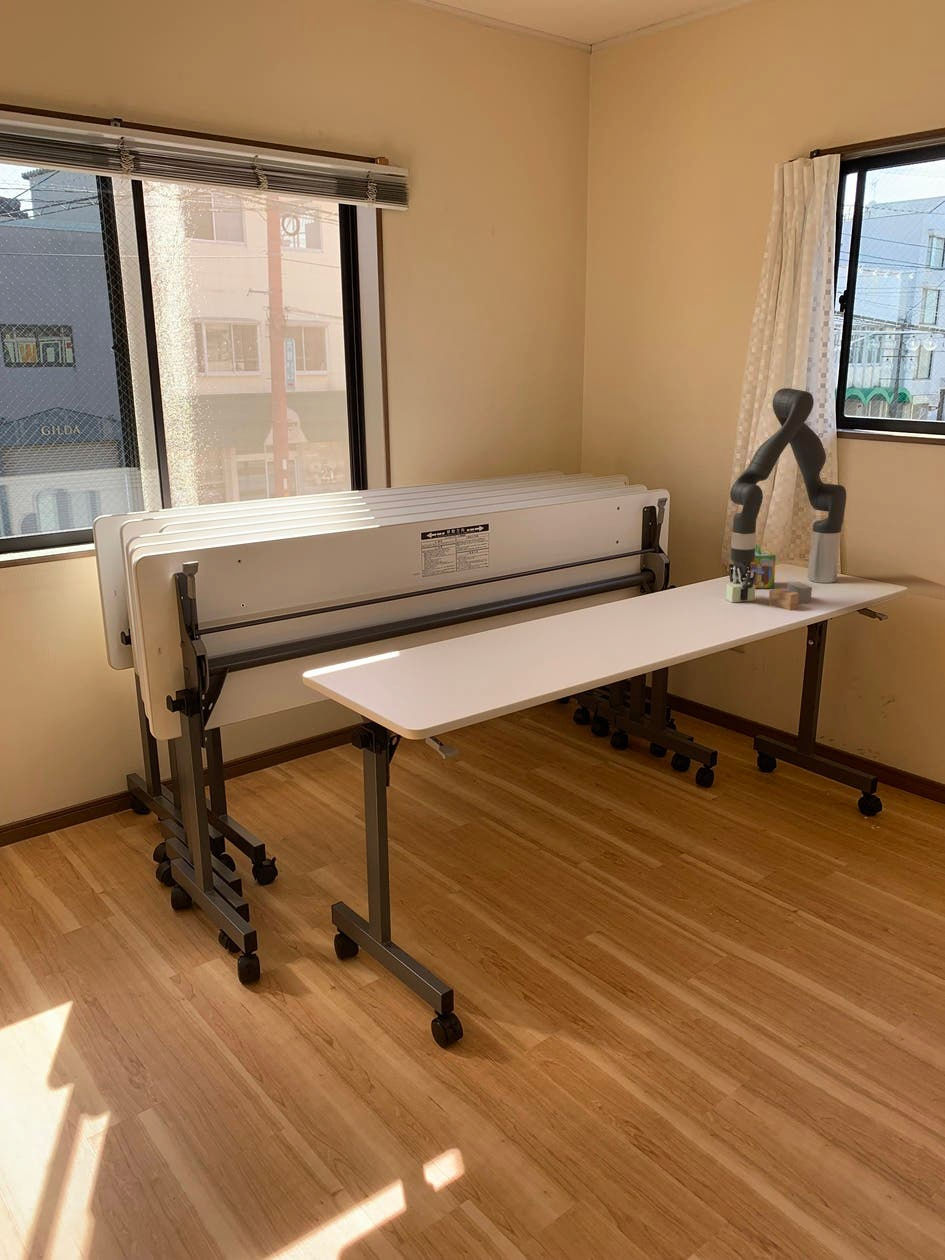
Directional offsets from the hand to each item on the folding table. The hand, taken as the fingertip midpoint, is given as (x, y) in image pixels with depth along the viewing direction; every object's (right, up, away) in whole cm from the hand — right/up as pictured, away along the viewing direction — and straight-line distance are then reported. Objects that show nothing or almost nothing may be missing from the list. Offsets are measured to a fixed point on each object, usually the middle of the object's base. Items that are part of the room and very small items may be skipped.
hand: (740, 598), depth 316 cm
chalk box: (+11, +5, +18) cm, 22 cm away
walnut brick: (+11, -3, -8) cm, 14 cm away
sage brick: (0, -1, 0) cm, 1 cm away
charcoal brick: (+19, -1, 0) cm, 19 cm away
